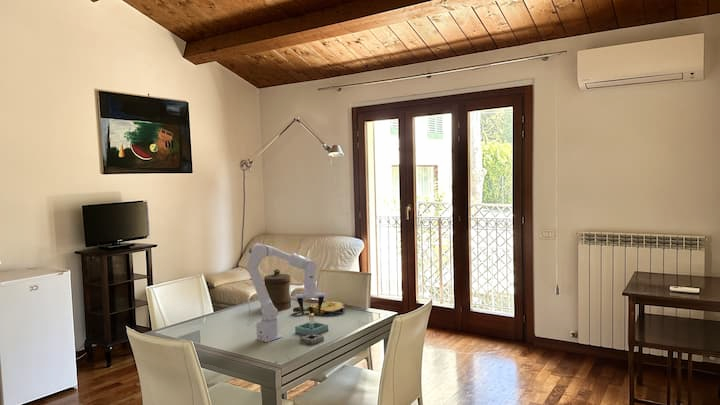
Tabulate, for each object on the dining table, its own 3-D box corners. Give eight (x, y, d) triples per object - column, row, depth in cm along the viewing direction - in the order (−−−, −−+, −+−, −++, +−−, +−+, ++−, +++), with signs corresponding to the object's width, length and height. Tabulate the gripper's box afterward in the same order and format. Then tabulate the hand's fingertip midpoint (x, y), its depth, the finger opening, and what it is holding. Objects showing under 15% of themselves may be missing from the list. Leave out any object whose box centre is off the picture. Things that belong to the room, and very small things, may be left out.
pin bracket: (312, 345, 213) (311, 340, 213) (300, 342, 218) (299, 337, 218) (323, 340, 219) (323, 336, 219) (311, 337, 224) (311, 333, 224)
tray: (311, 337, 225) (311, 330, 225) (295, 332, 232) (295, 326, 232) (328, 330, 234) (328, 324, 233) (311, 327, 241) (311, 321, 240)
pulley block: (294, 299, 273) (348, 297, 272) (294, 308, 274) (348, 307, 274) (290, 309, 259) (347, 308, 259) (291, 319, 260) (347, 318, 260)
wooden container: (296, 306, 281) (295, 268, 280) (276, 312, 270) (274, 272, 269) (280, 303, 291) (278, 266, 290) (259, 308, 280) (258, 270, 279)
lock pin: (311, 331, 231) (311, 315, 230) (307, 330, 233) (307, 314, 232) (315, 330, 233) (315, 313, 232) (311, 329, 235) (311, 313, 234)
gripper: (294, 287, 227) (295, 316, 228) (325, 285, 229) (326, 314, 229) (294, 284, 234) (295, 312, 235) (325, 282, 236) (326, 310, 236)
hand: (311, 313), depth 232 cm, fingers open, 7 cm apart
